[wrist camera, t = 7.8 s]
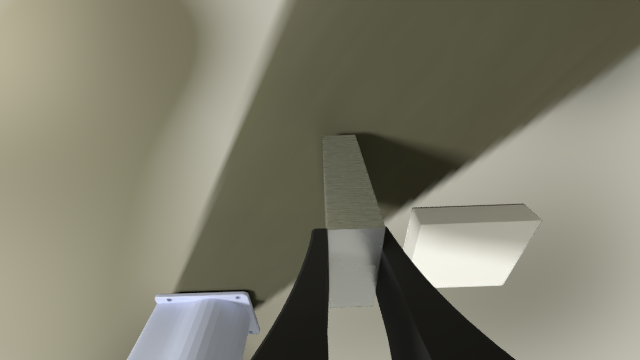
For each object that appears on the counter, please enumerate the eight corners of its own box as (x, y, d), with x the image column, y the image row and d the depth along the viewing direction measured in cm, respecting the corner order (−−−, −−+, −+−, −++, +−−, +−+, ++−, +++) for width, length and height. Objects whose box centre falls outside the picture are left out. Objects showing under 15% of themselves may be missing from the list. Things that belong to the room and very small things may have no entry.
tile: (404, 288, 23) (502, 285, 23) (421, 224, 19) (542, 220, 19) (397, 268, 25) (488, 264, 25) (411, 205, 21) (521, 201, 20)
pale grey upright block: (324, 199, 18) (329, 307, 12) (322, 135, 15) (328, 230, 9) (351, 198, 18) (373, 306, 12) (355, 134, 15) (385, 228, 9)
